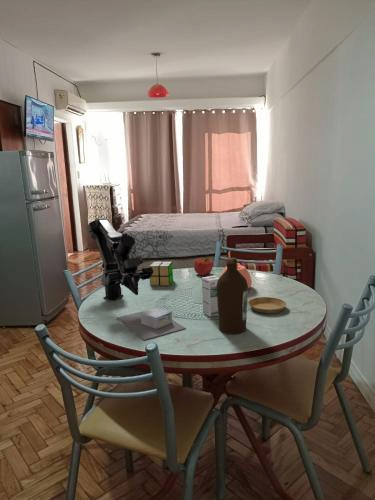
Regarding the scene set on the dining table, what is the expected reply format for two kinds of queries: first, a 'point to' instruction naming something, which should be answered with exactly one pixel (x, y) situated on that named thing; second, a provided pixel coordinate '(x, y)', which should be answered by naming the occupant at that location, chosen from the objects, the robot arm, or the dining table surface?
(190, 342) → the dining table surface
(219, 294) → the olive oil
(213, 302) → the syrup box
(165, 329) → the rubber mat
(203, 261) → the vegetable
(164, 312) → the medicine box
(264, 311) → the plant saucer
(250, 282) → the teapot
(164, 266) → the puzzle cube
